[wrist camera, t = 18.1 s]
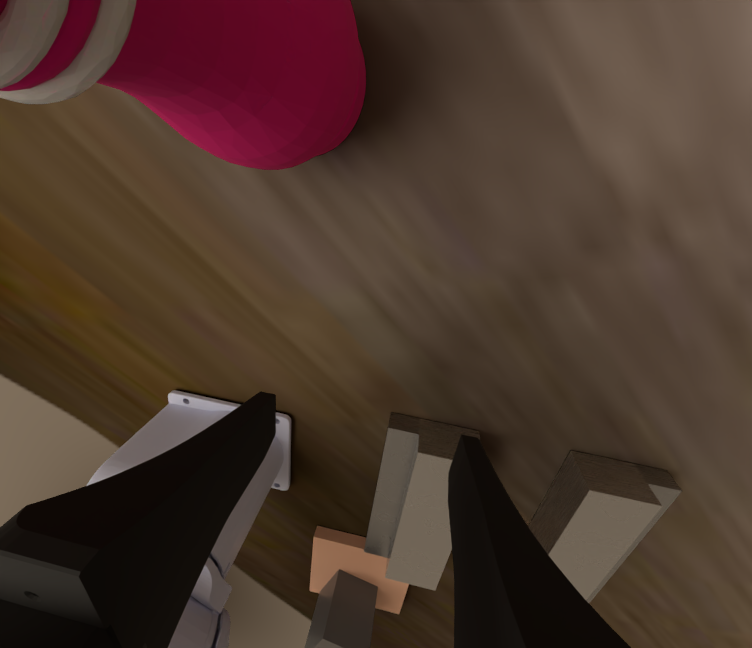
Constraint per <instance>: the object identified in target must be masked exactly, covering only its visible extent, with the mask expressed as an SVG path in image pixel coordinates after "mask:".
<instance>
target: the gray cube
mask: <svg viewBox="0 0 752 648" xmlns="http://www.w3.org/2000/svg"><path fill="white" fill-rule="evenodd" d="M377 591H378V587H377V586H375V585H373V584H371V583H369V582H366V581H364V580H362V579H360V578H358V577H355V576H353V575H351V574H349V573H347V572H344V571H342V570H340V569H339V570H338V571H337V572H336V573H335V575H334V576H333V577H332V578H331V579H330V580H329V582H328V583H327V584H326V585H325V586H324V587H323V588H322V590H321V591H320V593H319V596H318V600H317V604H316V608H315V611H314V615H313V619H312V622H311V626H310V630H309V634H308V637H307V641H306V645H305V648H370V643H371V636H372V628H373V621H374V613H375V606H376V598H377Z"/></svg>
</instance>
